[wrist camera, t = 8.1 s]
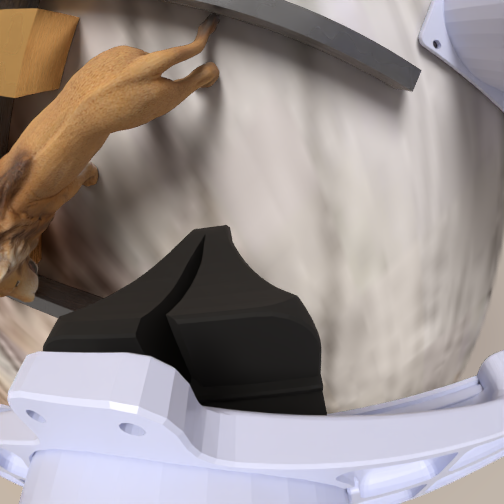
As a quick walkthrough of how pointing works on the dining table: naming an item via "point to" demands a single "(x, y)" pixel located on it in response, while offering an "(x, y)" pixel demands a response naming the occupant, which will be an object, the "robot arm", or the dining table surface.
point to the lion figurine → (83, 142)
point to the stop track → (225, 3)
